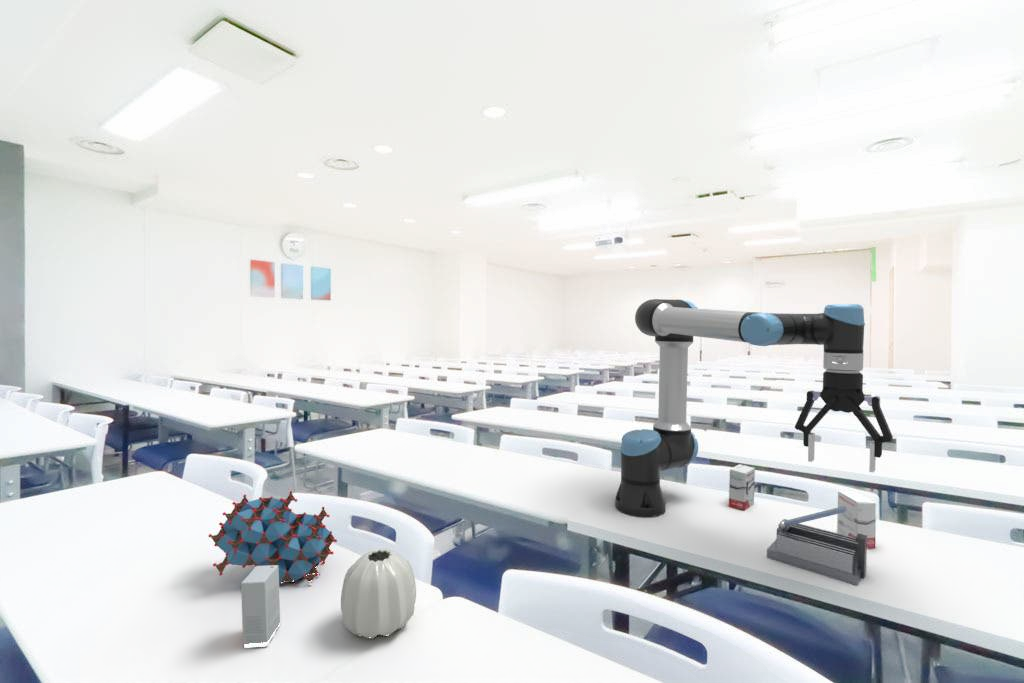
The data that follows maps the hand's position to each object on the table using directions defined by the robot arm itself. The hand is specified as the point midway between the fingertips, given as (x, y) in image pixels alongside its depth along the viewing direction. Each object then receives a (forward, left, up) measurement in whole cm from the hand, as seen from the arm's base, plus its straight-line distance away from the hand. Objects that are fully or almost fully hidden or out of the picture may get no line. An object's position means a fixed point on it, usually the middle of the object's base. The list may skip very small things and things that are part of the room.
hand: (840, 465), depth 109 cm
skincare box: (-71, -102, -24) cm, 127 cm away
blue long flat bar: (-5, 0, -14) cm, 15 cm away
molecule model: (-92, -92, -24) cm, 132 cm away
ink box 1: (-30, +25, -24) cm, 46 cm away
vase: (-59, -85, -24) cm, 106 cm away
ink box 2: (0, +20, -24) cm, 31 cm away
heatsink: (-5, 0, -24) cm, 24 cm away
